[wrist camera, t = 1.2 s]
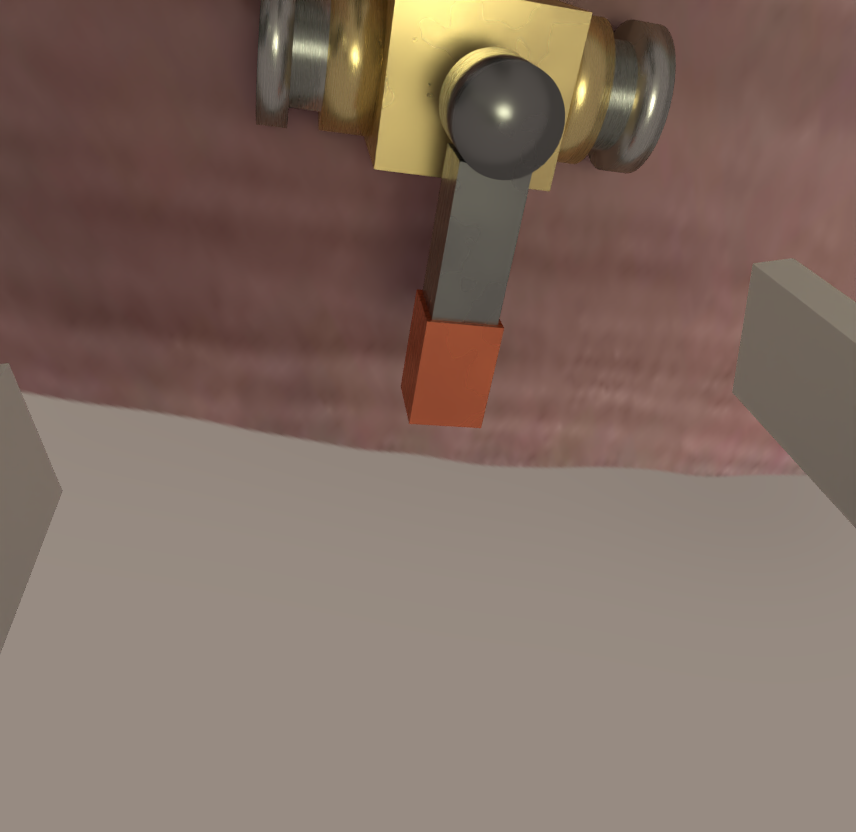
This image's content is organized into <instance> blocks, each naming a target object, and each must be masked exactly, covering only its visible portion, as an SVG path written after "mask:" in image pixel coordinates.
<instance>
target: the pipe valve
mask: <svg viewBox="0 0 856 832" xmlns="http://www.w3.org/2000/svg"><path fill="white" fill-rule="evenodd" d="M486 47H501V48H505V49H508V50H511V51H513V52H515V53H517V54H519V55H520V56H522V57H523V58H525V59H526V60H528V61H529V62H531V63H532V64H534V65H536V66H537V67H539V68H540V69H542V70H543V71H544V72H546V73H547V74H548V75H549V76H550V77H551V78H552V79H553V80H554V82H555V83H556V85H557V86H558V88H559V90H560V92H561V95H562V98H563V101H564V107H565V125H564V130H563V134H562V137H561V140H560V142H559V144H558V146H557V148H556V150H555V152H554V153H553V154H552V156H551V157H550V158H549V159H548V160H547V162H546V163H545V164H544V165H542V166H541V167H540V168H539V169H537V170H536V171H534V172H533V173H532V176H531V180H530V185H529V189H535V190H543V191H550V187H551V183H552V179H553V175H554V171H555V167H556V162H563V163H570V164H577V163H579V162H581V161H582V160H583V159H584V158H585V157H586V156H587V154H588V155H589V158H590V161H591V163H592V164H593V166H594V167H595V168H597V169H599V170H605V171H612V172H620V173H632V172H634V171H636V170H637V169H638V168H640V167H641V166H642V165H643V164H644V162H645V161H646V160H647V159H648V157H649V156H650V154H651V153H652V151H653V149H654V147H655V146H656V144H657V141H658V139H659V137H660V135H661V132H662V130H663V127H664V125H665V122H666V118H667V115H668V112H669V108H670V104H671V99H672V95H673V88H674V81H675V67H676V62H675V48H674V43H673V39H672V37H671V34H670V32H669V31H668V29H667V28H666V27H665V26H663V25H660V24H655V23H649V22H643V21H638V20H627V21H625V22H624V23H622V24H621V25H620V26H619V27H618V28H617V29H616V30H615V32H614V33H613V29H612V26H611V24H610V22H609V21H608V20H607V19H606V18H604V17H599V16H593V15H592V12H589V11H586V10H584V9H581V8H578V7H575V6H572V5H569V4H566V3H564V2H561V1H558V0H261V5H260V23H259V41H258V63H257V88H256V124H258V125H265V126H273V127H280V128H287V120H288V107H290V108H297V109H304V110H311V111H318V127H319V130H323V131H330V132H338V133H345V134H353V135H360V136H364V138H365V141H366V145H367V148H368V151H369V154H370V158H371V161H372V164H373V167H374V169H375V170H383V171H391V172H399V173H407V174H415V175H423V176H431V177H439V178H442V173H443V167H444V161H445V155H446V149H447V143H451V144H453V143H452V141H451V140H450V138H449V137H448V135H447V134H446V132H445V130H444V128H443V126H442V123H441V119H440V114H439V96H440V92H441V88H442V85H443V82H444V80H445V78H446V76H447V74H448V73H449V71H450V70H451V68H452V67H453V66H454V65H455V64H456V63H457V62H458V61H459V60H460V59H461V58H463V57H464V56H466V55H467V54H469V53H471V52H473V51H475V50H478V49H481V48H486Z"/></svg>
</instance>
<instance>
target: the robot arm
mask: <svg viewBox="0 0 856 832" xmlns="http://www.w3.org/2000/svg"><path fill="white" fill-rule="evenodd" d="M732 393H733V394H734V395H735V396H736V397H737V398H738V399H739V400H740V401H741V402H742V404H743V405H744V406H745V407H746V408H747V409H748V410H749V411H750V412H751V413H752V415H753V416H754V417H755V418H756V419H757V420H758V421H759V422H760V423H761V424H762V426H763V427H764V428H765V429H766V430H767V431H768V432H769V433H770V434H771V435H772V437H773V438H774V439H775V440H776V441H777V442H778V443H779V444H780V445H781V446H782V448H783V449H784V450H785V451H786V452H787V453H788V454H789V455H790V456H791V457H792V459H793V460H794V461H795V462H796V463H797V464H798V465H799V466H800V467H801V469H802V470H803V471H804V472H805V473H806V474H807V475H808V476H809V477H810V478H811V480H812V481H813V482H814V483H815V484H816V485H817V486H818V487H819V488H820V489H821V491H822V492H823V493H824V494H825V495H826V496H827V497H828V498H829V499H830V500H831V501H832V503H833V504H834V505H835V506H836V507H837V508H838V509H839V510H840V511H841V512H842V514H843V515H844V516H845V517H846V518H847V519H848V520H849V521H850V522H851V524H852V525H853V526H854V527H855V528H856V302H854V301H853V300H852V299H850V298H849V297H847V296H846V295H844V294H843V293H842V292H840V291H839V290H837V289H836V288H835V287H833V286H832V285H830V284H829V283H827V282H826V281H825V280H823V279H822V278H820V277H819V276H817V275H816V274H815V273H813V272H812V271H810V270H809V269H808V268H806V267H805V266H803V265H802V264H800V263H799V262H798V261H796V260H795V259H793V258H791V259H784V260H776V261H769V262H761V263H754V264H753V267H752V273H751V279H750V285H749V292H748V298H747V304H746V310H745V317H744V323H743V329H742V335H741V342H740V348H739V354H738V360H737V367H736V373H735V379H734V385H733V392H732ZM61 493H62V489H61V486H60V484H59V482H58V479H57V477H56V475H55V472H54V470H53V467H52V465H51V463H50V460H49V458H48V456H47V453H46V451H45V448H44V446H43V444H42V442H41V439H40V436H39V434H38V432H37V429H36V427H35V424H34V422H33V420H32V417H31V415H30V413H29V410H28V408H27V406H26V403H25V401H24V398H23V396H22V394H21V391H20V389H19V386H18V384H17V382H16V379H15V377H14V375H13V372H12V370H11V367H10V365H9V363H5V364H0V653H1V650H2V648H3V645H4V643H5V640H6V637H7V635H8V632H9V629H10V627H11V624H12V622H13V619H14V616H15V614H16V611H17V609H18V606H19V603H20V601H21V598H22V596H23V593H24V590H25V588H26V585H27V582H28V580H29V577H30V575H31V572H32V569H33V567H34V564H35V562H36V559H37V556H38V554H39V551H40V548H41V546H42V543H43V541H44V538H45V535H46V533H47V530H48V527H49V525H50V522H51V520H52V517H53V514H54V512H55V509H56V507H57V504H58V501H59V499H60V496H61Z"/></svg>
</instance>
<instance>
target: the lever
mask: <svg viewBox="0 0 856 832" xmlns="http://www.w3.org/2000/svg"><path fill="white" fill-rule="evenodd" d="M439 114H440V119H441V123H442V126H443V128H444V130H445V132H446V134H447V135H448V137H449V138H450V140H451V141H452V143H453V144H451V143H447V149H446V155H445V161H444V167H443V173H442V179H441V185H440V191H439V197H438V203H437V209H436V215H435V221H434V226H433V232H432V238H431V244H430V250H429V256H428V262H427V268H426V274H425V280H424V286H423V290H417V291H416V297H415V303H414V309H413V315H412V321H411V328H410V334H409V340H408V346H407V352H406V358H405V364H404V370H403V376H402V382H401V389H402V394H403V398H404V403H405V407H406V412H407V416H408V420H409V424H422V425H439V426H455V427H472V428H481V426H482V421H483V417H484V413H485V408H486V404H487V400H488V395H489V391H490V387H491V382H492V378H493V374H494V369H495V365H496V361H497V357H498V352H499V348H500V344H501V339H502V335H503V331H504V327H503V325H502V323H501V321H500V319H499V317H500V313H501V309H502V304H503V300H504V295H505V291H506V286H507V282H508V278H509V273H510V269H511V264H512V260H513V256H514V251H515V247H516V242H517V238H518V233H519V229H520V225H521V220H522V216H523V211H524V207H525V202H526V198H527V194H528V189H529V185H530V180H531V176H532V173H533V172H534V171H536V170H537V169H539V168H540V167H541V166H542V165H544V164H545V163H546V162H547V160H548V159H549V158H550V157H551V156H552V154H553V153H554V152H555V150H556V148H557V146H558V144H559V142H560V140H561V137H562V134H563V130H564V125H565V107H564V101H563V98H562V95H561V92H560V90H559V88H558V86H557V85H556V83H555V82H554V80H553V79H552V78H551V77H550V76H549V75H548V74H547V73H546V72H544V71H543V70H542V69H540V68H539V67H537V66H536V65H534V64H532V63H531V62H529V61H528V60H526V59H525V58H523V57H522V56H520V55H519V54H517V53H515V52H513V51H511V50H508V49H505V48H501V47H486V48H481V49H478V50H475V51H473V52H471V53H469V54H467V55H466V56H464V57H463V58H461V59H460V60H459V61H458V62H457V63H456V64H455V65H454V66H453V67H452V68H451V70H450V71H449V73H448V74H447V76H446V78H445V80H444V82H443V85H442V88H441V92H440V96H439Z"/></svg>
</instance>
